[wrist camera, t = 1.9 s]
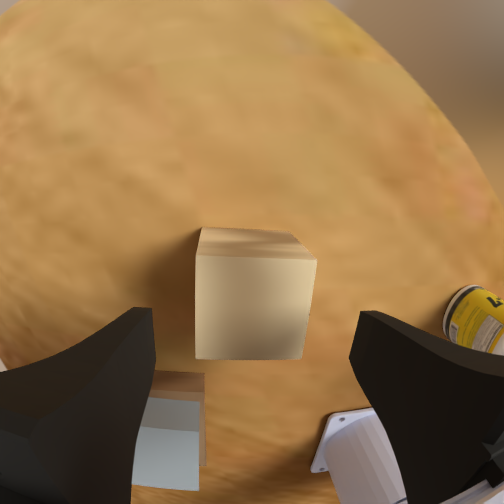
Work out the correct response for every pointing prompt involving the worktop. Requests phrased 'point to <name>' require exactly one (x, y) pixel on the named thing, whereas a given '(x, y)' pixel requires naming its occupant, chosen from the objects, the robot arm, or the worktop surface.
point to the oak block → (251, 294)
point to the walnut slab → (183, 396)
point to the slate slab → (168, 445)
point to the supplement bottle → (476, 320)
